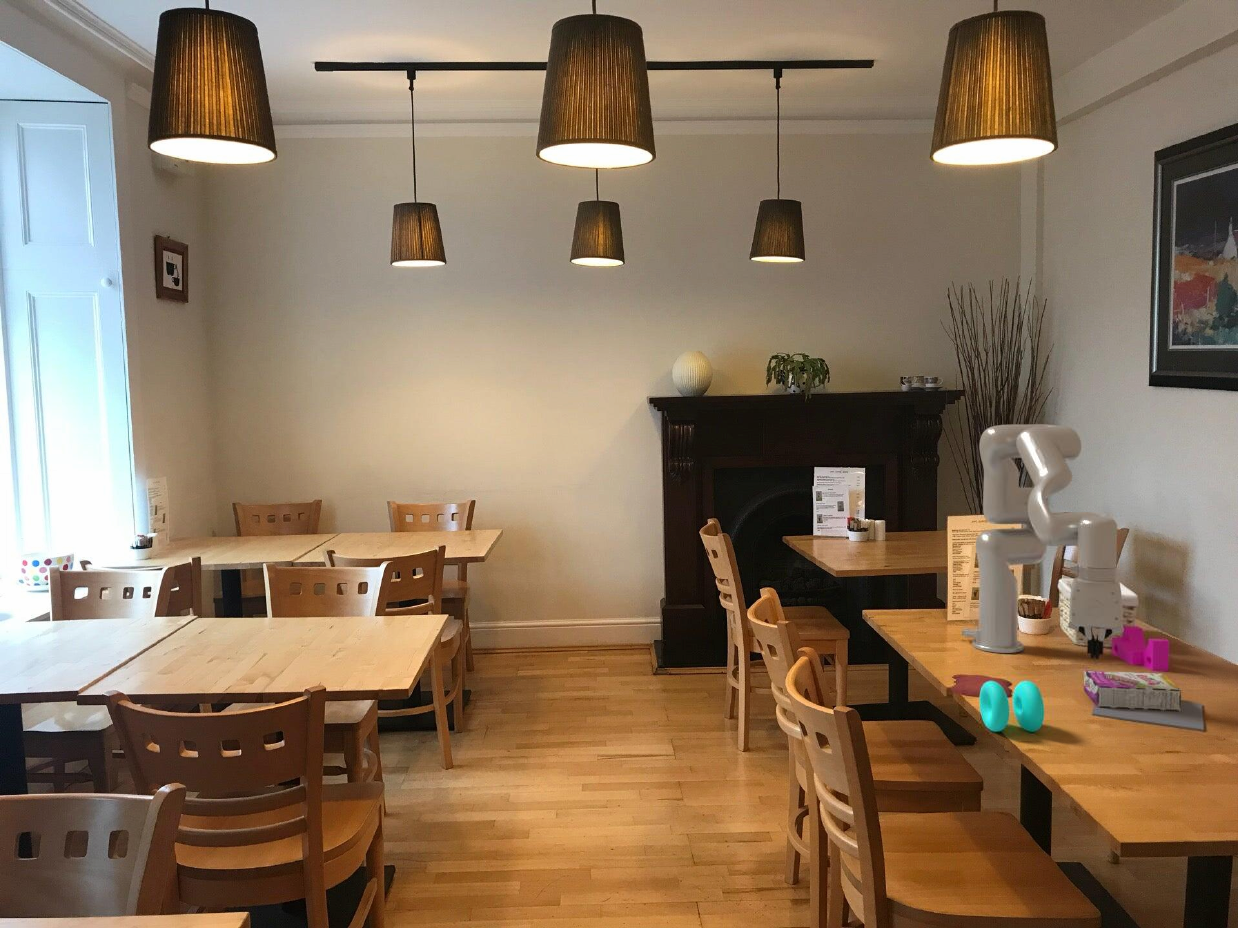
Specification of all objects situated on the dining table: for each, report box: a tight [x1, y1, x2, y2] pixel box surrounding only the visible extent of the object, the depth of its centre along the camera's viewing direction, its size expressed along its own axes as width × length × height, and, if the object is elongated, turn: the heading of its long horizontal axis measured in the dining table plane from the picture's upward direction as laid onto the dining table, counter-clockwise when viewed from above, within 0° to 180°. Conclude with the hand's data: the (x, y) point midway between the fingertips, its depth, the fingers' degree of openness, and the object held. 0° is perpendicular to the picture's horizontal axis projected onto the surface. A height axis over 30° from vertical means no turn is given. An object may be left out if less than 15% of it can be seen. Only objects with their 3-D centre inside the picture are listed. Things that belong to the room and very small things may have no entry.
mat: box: [1091, 700, 1205, 732], centre depth 199 cm, size 20×18×1 cm
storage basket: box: [1057, 577, 1139, 648], centre depth 258 cm, size 24×16×15 cm
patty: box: [950, 673, 1013, 699], centre depth 215 cm, size 18×14×2 cm
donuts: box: [978, 680, 1045, 733], centre depth 188 cm, size 10×10×10 cm
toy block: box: [1111, 625, 1170, 672], centre depth 234 cm, size 15×6×8 cm, turn 178°
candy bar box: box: [1083, 670, 1182, 711], centre depth 203 cm, size 11×5×16 cm
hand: (1095, 657), depth 203 cm, fingers closed
